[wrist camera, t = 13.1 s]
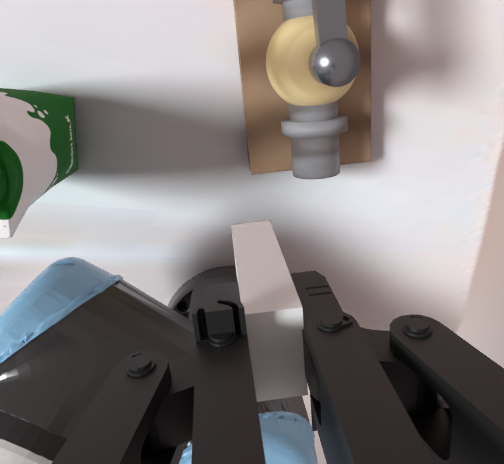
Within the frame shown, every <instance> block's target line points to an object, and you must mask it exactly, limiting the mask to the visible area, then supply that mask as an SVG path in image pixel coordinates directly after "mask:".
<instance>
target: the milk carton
mask: <svg viewBox="0 0 504 464" xmlns="http://www.w3.org/2000/svg"><path fill="white" fill-rule="evenodd" d="M76 170H78V163H77V146H76V129H75V112H74V98H73V97H67V96H61V95H55V94H48V93H42V92H36V91H26V90H16V89H5V88H0V238H10V237H12V236H13V234H14V232H15V231H16V229H17V227H18V225H19V223H20V221H21V219H22V218H23V216H24V214H25V212H26V210H27V209H28V207H29V206H30V205H31V204H33V203H34V202H35V201H36V200H37V199H39V198H40V197H41V196H42V195H43V194H44V193H46V192H47V191H48V190H49V189H50V188H52V187H53V186H54V185H56V184H57V183H59V182H60V181H62V180H63V179H65V178H66V177H68V176H69V175H70V174H72V173H73V172H75V171H76Z"/></svg>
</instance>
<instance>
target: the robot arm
mask: <svg viewBox="0 0 504 464" xmlns="http://www.w3.org/2000/svg"><path fill="white" fill-rule="evenodd" d="M231 230H232V239H233V247H234V256H235V264H236V267H234V266H231V267H220V268H215V269H211V270H208V271H205V272H202V273H200V274H198V275H196V276H194V277H193V278H191V279H190V280H188V281H187V282H186V283H185V284H183V285H182V286H181V287H180V288H179V289H178V291H177V292H176V293H175V294H174V296H173V297H172V299H171V301H170V303H169V305H168V307H167V306H166V305H164V304H162V303H160V302H159V301H157V300H155V299H154V298H152V297H150V296H149V295H147V294H145V293H144V292H142V291H140V290H139V289H137V288H136V287H134V286H132V285H131V284H129V283H127V282H126V281H124V280H122V279H123V278H122V277H121V276H119V275H113V274H111V273H109V272H107V271H105V270H103V269H101V268H99V267H97V266H95V265H93V264H91V263H89V262H87V261H85V260H83V259H80V258H75V257H68V258H63V259H60V260H58V261H56V262H54V263H52V264H51V265H50V266H49V267H47V268H46V269H45V270H44V271H43V272H42V273H41V274H40V275H39V276H38V277H37V278H36V279H34V280H33V281H32V282H31V283H30V284H29V285H28V286H27V288H26V289H25V290H24V291H23V292H22V293H21V294H20V295H19V296H18V297H17V298H16V299H15V300H14V301H13V302H12V303H11V304H10V305H9V306H8V307H7V309H6V310H5V311H4V312H3V313H2V314H1V315H0V464H318V463H317V457H316V451H315V447H314V431H317V430H318V434H319V437H320V441H321V444H322V448H323V451H324V455H325V458H326V461H327V464H504V368H502V367H501V366H499V365H498V364H497V363H495V362H494V361H492V360H491V359H490V358H488V357H487V356H486V355H484V354H483V353H481V352H480V351H479V350H477V349H476V348H474V347H473V346H472V345H470V344H469V343H468V342H466V341H465V340H463V339H462V338H461V337H459V336H458V335H457V334H455V333H454V332H452V331H451V330H450V329H448V328H447V327H445V326H444V325H443V324H441V323H440V322H438V321H436V320H434V319H432V318H429V317H426V316H422V315H406V316H401V317H398V318H396V319H394V320H393V321H392V322H391V324H390V331H379V330H370V329H365V328H361V327H360V326H359V324H358V323H357V321H356V320H355V319H354V318H353V317H352V316H351V315H349V314H346V313H344V312H343V311H342V309H341V307H340V305H339V303H338V301H337V300H336V298H335V296H334V294H333V293H332V290H331V288H330V287H329V284H328V282H327V280H326V279H325V277H324V276H322V275H321V274H319V273H317V272H316V271H309V272H301V273H293V274H290V273H289V270H288V267H287V265H286V262H285V259H284V256H283V254H282V251H281V248H280V246H279V243H278V240H277V238H276V235H275V232H274V230H273V227H272V224H271V222H270V220H268V221H259V222H251V223H242V224H234V225H231ZM307 383H308V386H309V390H310V398H311V415H312V426H311V425H310V422H309V419H308V415H307V412H306V408H305V405H304V402H303V398H302V396H303V395H308V391H307Z"/></svg>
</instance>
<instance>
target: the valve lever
mask: <svg viewBox="0 0 504 464" xmlns="http://www.w3.org/2000/svg"><path fill="white" fill-rule="evenodd" d="M312 9H313V19H314V29H315V39H316V46H315V47H314V48H313V50H312V51H311V53H310V56H309V61H308V66H309V71H310V73H311V75H312V77H313V78H314V79H315V80H316V81H317V82H319V83H321V84H324V85H327V86H331V87H341V86H345V85H347V84H349V83H350V82H351V81H352V80H353V79H354V78H355V77H356V75H357V74H358V72H359V69H360V64H361V58H360V53H359V50H358V49H357V47H356V46H355V44H354V43H352V42H351V41H349V40H348V32H347V19H346V6H345V0H312Z"/></svg>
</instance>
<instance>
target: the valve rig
mask: <svg viewBox="0 0 504 464" xmlns="http://www.w3.org/2000/svg"><path fill="white" fill-rule="evenodd" d="M233 1H234V11H235V21H236V32H237V42H238V53H239V63H240V73H241V84H242V94H243V104H244V115H245V125H246V136H247V146H248V156H249V167H250V172H251V174H260V173H269V172H278V171H287V170H293V176H294V177H296V178H301V179H323V178H329V177H333V176H336V175H338V174H339V173H340V164H349V163H358V162H367V161H371V0H345V6H346V19H347V32H348V40H349V41H351V42H352V43H354V44H355V46H356V47H357V49H358V50H359V53H360V58H361V64H360V69H359V72H358V74H357V75H356V77H355V78H354V79H353V80H352V81H351V82H350V83H349V84H347V85H345V86H341V87H331V86H327V85H324V84H321V83H319V82H317V81H316V80H315V79H314V78H313V77H312V75H311V73H310V71H309V66H308V61H309V56H310V53H311V51H312V50H313V48H314V47H315V46H316V39H315V29H314V19H313V9H312V0H233Z"/></svg>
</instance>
